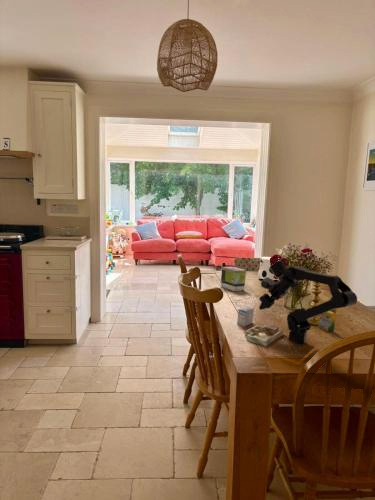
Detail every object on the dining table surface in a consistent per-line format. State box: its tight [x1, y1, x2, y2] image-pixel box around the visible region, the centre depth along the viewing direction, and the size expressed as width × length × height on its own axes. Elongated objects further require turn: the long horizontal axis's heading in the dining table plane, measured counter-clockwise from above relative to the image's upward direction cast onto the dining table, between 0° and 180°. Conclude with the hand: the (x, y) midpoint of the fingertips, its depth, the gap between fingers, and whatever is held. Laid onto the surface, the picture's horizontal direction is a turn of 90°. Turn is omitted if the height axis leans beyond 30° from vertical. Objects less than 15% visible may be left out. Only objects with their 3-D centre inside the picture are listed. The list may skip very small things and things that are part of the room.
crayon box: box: [318, 308, 337, 333], centre depth 177 cm, size 7×3×12 cm, turn 29°
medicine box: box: [236, 305, 254, 327], centre depth 176 cm, size 8×4×9 cm, turn 141°
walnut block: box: [265, 324, 280, 336], centre depth 165 cm, size 4×5×3 cm
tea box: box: [220, 266, 247, 292], centre depth 250 cm, size 15×10×15 cm, turn 34°
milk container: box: [257, 256, 274, 280], centre depth 286 cm, size 17×17×18 cm
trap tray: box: [244, 324, 284, 347], centre depth 160 cm, size 12×19×3 cm, turn 143°
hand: (264, 305), depth 173 cm, fingers open, 9 cm apart
